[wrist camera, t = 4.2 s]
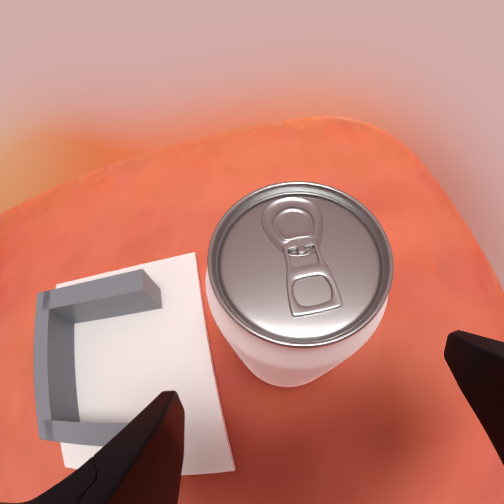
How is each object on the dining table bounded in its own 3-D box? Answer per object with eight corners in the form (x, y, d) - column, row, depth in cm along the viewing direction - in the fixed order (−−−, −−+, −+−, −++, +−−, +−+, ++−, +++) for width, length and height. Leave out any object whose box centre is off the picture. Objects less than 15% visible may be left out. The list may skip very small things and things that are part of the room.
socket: (196, 255, 23) (182, 226, 19) (235, 468, 15) (225, 484, 11) (60, 287, 22) (33, 267, 19) (69, 466, 14) (36, 469, 11)
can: (322, 288, 20) (361, 162, 10) (345, 375, 17) (435, 328, 7) (233, 305, 20) (188, 189, 10) (248, 396, 17) (204, 384, 7)
